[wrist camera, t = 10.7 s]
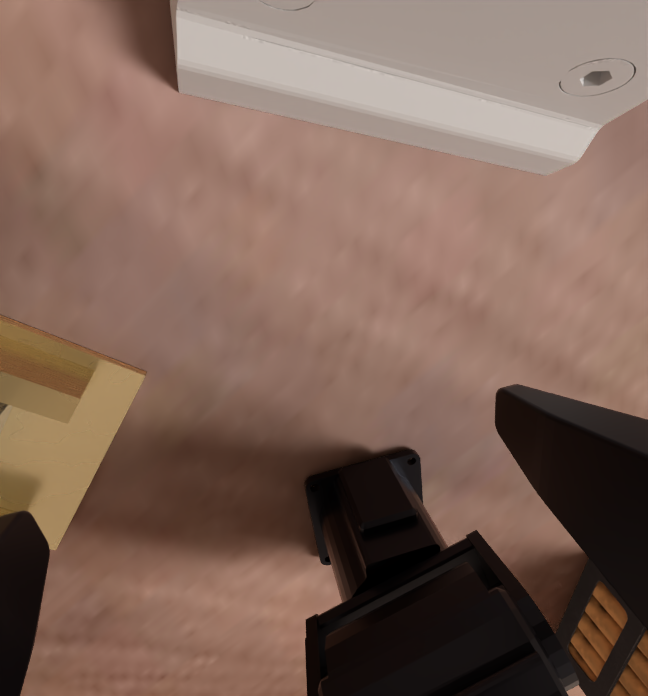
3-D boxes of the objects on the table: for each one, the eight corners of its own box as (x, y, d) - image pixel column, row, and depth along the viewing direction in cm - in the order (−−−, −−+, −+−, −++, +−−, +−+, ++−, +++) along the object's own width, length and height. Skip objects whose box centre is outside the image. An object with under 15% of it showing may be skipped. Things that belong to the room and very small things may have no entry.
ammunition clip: (568, 642, 37) (711, 840, 27) (549, 646, 37) (687, 848, 26) (612, 547, 33) (803, 736, 22) (592, 549, 33) (776, 744, 22)
